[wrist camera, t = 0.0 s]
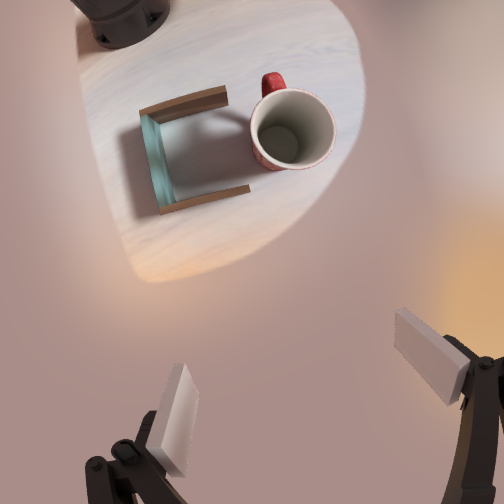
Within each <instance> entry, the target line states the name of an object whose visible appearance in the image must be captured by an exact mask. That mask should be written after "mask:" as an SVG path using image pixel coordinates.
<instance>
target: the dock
mask: <svg viewBox="0 0 504 504" xmlns="http://www.w3.org/2000/svg"><path fill="white" fill-rule="evenodd" d="M227 105H228V98H227V91H226V87H225V85H224V86H219V87H215V88H211V89H207V90H203V91H199V92H195V93H192V94H188V95H185V96H181V97H178V98H174V99H171V100H168V101H165V102H162V103H159V104H156V105H153V106H150V107H147V108H145V109H142V110H139V114H140V120H141V126H142V132H143V137H144V143H145V148H146V153H147V158H148V163H149V168H150V173H151V177H152V182H153V186H154V190H155V195H156V199H157V203H158V207H159V211H160V215H163V214H166V213H170V212H174V211H177V210H181V209H185V208H188V207H192V206H196V205H200V204H204V203H207V202H211V201H215V200H219V199H224V198H228V197H232V196H236V195H240V194H245V193H249V192H250V187H249V184H248V185H244V186H240V187H235V188H231V189H227V190H223V191H219V192H215V193H211V194H207V195H203V196H199V197H196V198H192V199H188V200H184V201H181V202H177V203H176V200H175V196H174V192H173V188H172V183H171V179H170V175H169V170H168V166H167V161H166V156H165V151H164V147H163V142H162V137H161V131H160V126H159V124H162V123H165V122H168V121H171V120H174V119H178V118H181V117H184V116H188V115H191V114H195V113H199V112H203V111H206V110H210V109H214V108H219V107H223V106H227Z"/></svg>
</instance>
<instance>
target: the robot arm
mask: <svg viewBox="0 0 504 504" xmlns="http://www.w3.org/2000/svg"><path fill="white" fill-rule="evenodd" d="M70 1H71V2H73V3H74V4H75V5H76V6H77V7H78V8H79V9H80V10H81V11H82V12H83V13H84V14H85V15H86V16H87V17H88V18H89V20H90V24H91V28H92V32H93V35H94V38H95V39H96V41H97V42H98V43H99V44H100V45H102V46H103V47H105V48H109V49H119V48H125V47H128V46H131V45H134V44H136V43H138V42H140V41H142V40H144V39H146V38H147V37H149V36H150V35H151V34H153V33H154V32H155V31H156V30H157V29H158V28H159V27H160V26H161V25H162V24H163V23H164V21H165V20H166V18H167V16H168V14H169V10H170V5H169V2H168V0H70ZM394 341H395V342H394V347H395V348H396V349H397V350H398V351H399V352H400V353H401V354H402V355H403V356H404V358H405V359H406V360H407V361H408V362H409V363H410V364H411V365H412V366H413V367H414V369H415V370H416V371H417V372H418V373H419V374H420V375H421V376H422V378H423V379H424V380H425V381H426V382H427V383H428V384H429V386H430V387H431V388H432V389H433V390H434V391H435V392H436V394H437V395H438V396H439V397H440V398H441V399H442V401H443V402H444V403H445V404H446V405H447V407H448V406H450V405H452V404H453V403H455V402H456V401H458V400H459V397H460V394H461V392H462V393H463V394H464V395H465V397H464V400H463V403H462V405H461V408H460V410H462V418H461V425H460V432H459V437H458V443H457V448H456V453H455V457H454V462H453V466H452V470H451V473H450V477H449V481H448V484H447V487H446V491H445V494H444V497H443V500H442V503H441V504H493V502H494V498H495V492H496V488H495V486H493V485H492V482H493V476H494V470H495V462H496V455H497V445H498V431H499V416H500V419H501V423H502V428H503V433H504V357H501V358H498V359H496V360H494V359H493V358H491V357H487V356H484V357H478V356H477V355H476V354H475V353H474V352H472V351H471V350H470V349H469V348H467V347H466V346H464V345H463V344H462V343H460V341H458V340H457V339H456V338H455V337H452V336H449V335H445V336H443V337H442V336H441V335H440V334H438V333H437V332H436V331H434V330H433V329H432V328H431V327H429V326H428V325H427V324H426V323H424V322H423V321H422V320H421V319H419V318H418V317H417V316H416V315H414V314H413V313H412V312H410V311H409V310H408V309H407V308H405V307H404V308H401V309H399V310H396V311H395V340H394ZM198 401H199V393H198V391H197V388H196V386H195V384H194V382H193V380H192V377H191V375H190V373H189V371H188V368H187V366H186V364H185V363H179V364H174V365H173V367H172V370H171V372H170V375H169V378H168V381H167V384H166V387H165V390H164V392H163V395H162V398H161V401H160V404H159V407H158V410H157V411H149V412H148V413H147V414H146V415H145V417H144V418H143V421H142V423H141V426H140V429H139V432H138V434H137V437H136V440H135V442H133V441H132V440H129V439H123V440H120V441H118V442H116V443H115V444H114V445H113V446H112V449H111V453H112V456H113V457H114V458H115V459H116V460H114V461H106V460H105V459H104V458H103V457H101V456H94V457H92V458H90V459H89V460H88V461H87V462H86V465H85V473H86V486H87V496H88V503H89V504H138V502H137V499H136V495H135V493H138V495H139V496H140V497H141V499H142V501H143V502H144V504H187V503H186V501H185V500H184V499H183V498H182V497H181V496H180V495H179V494H178V492H177V491H176V490H175V489H174V488H173V487H172V485H171V484H170V483H169V481H168V480H167V479H166V478H165V476H166V472H167V473H168V474H169V475H170V476H171V477H186V473H187V466H188V460H189V454H190V448H191V442H192V436H193V430H194V424H195V418H196V413H197V407H198ZM462 408H463V409H462Z"/></svg>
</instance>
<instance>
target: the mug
mask: <svg viewBox="0 0 504 504" xmlns="http://www.w3.org/2000/svg"><path fill="white" fill-rule="evenodd" d="M262 98H263V99H262V100H261V101H260V102H259V103H258V104H257V105H256V107H255V109H254V111H253V113H252V116H251V120H250V133H251V138H252V148H253V153H254V155H255V157H256V159H257V160H258V162H259V163H260V164H262V165H263V166H264V167H266V168H268V169H271V170H278V171H279V170H287V169H290V170H302V169H307V168H310V167H313V166H315V165H317V164H319V163H320V162H322V161H323V160H324V159H325V158H326V157H327V156H328V155H329V153H330V152H331V150H332V148H333V146H334V143H335V139H336V124H335V120H334V118H333V115H332V113H331V111H330V109H329V108H328V107H327V105H326V104H325V103H324V102H323V101H322V100H321V99H320V98H318V97H317V96H315V95H314V94H312V93H310V92H307V91H305V90H301V89H294V88H287V87H286V85H285V82H284V80H283V78H282V76H281V75H280V74H279V73H277V72H272V73H268V74H265V75H264V76H263V78H262Z"/></svg>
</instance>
